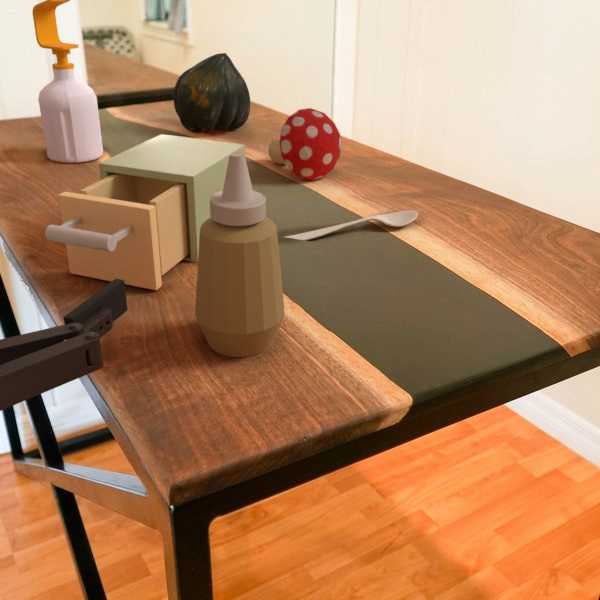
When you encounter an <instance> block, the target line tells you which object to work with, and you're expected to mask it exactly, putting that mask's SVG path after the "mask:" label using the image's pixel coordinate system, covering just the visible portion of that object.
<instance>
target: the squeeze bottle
mask: <svg viewBox="0 0 600 600" xmlns="http://www.w3.org/2000/svg"><path fill="white" fill-rule="evenodd" d="M245 158H246V154H245V155H244V153H239V152H235V153H231V154H230V156H229V161H228V167H227V172H226V177H225V183H224V188H223V191H220V192H217V193H215V194H214V195H212V196H211V198H210V218H209V219H208V220H206V221H205V222H204V223H203V224H202V225H201V228H200V237H199V255H198V262H197V276H196V293H195V310H194V315H195V317H196V320H197V322H198V324H199V326H200V329H201V331H202V333H203V335H204V338H205V340H206V342H207V344H208V345H209V347H210V349H211V350H213V351H214V352H217V353H218V354H220V355H222V356H227V357H231V358H233V357H234V358H248V357H252V356H257V355H260V354H262V353H264V352H266V351H268V350H269V349H270V348H271V346H273V344H274V343H275V341H276V339H277V336H278V333H279V330H280V328H281V326H282V323H283V320H284V318H285V302H284V301H285V299H284V290H283V279H282V268H281V259H280V249H279V238H278V237H279V236H278V228H277V224H275V223H274V222H273V221H272V220H271V219H270V218H269V217H267V197H266V196H265V195H264V194H263V193H261V192H259V191H256V190H253V185H252V181H251V177H250V172H249V168H248V164H247V159H245Z"/></svg>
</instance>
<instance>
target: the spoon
mask: <svg viewBox="0 0 600 600" xmlns="http://www.w3.org/2000/svg"><path fill="white" fill-rule="evenodd" d="M418 216H419V213H418V211H417V210H412V209H410V210H409V209H405V210H400V211H395V212H389V213H386V214H385V213H384V214H378V215H369V216H366V217H363V218H359V219H357V220H352V221H348V222H343V223H340V224H337V225H336V224H335V225H332V226H327V227H323V228H318V229H315V230H311V231H306V232H301V233H296V234H292V235H287V236H286V235H285V238H289V239H294V240H299V241H305V242H306V241H310V240H314V239H317V238H320V237H324V236H326V235H330V234H333V233H335V232H337V231H340V230H342V229H346V228H348V227H351V226H355V225H360V224H362V223H365V222H369V221H377V222H379V223H382V224H383V225H386V226H390V227H403V226H407V225H408V224H410V223H412V222H413V221H415V220H416V219H417V218H418Z"/></svg>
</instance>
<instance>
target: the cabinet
mask: <svg viewBox="0 0 600 600" xmlns="http://www.w3.org/2000/svg"><path fill="white" fill-rule="evenodd" d="M235 152H239V153H244V155H245V156H246V144H245V143H244V144H242V143H236V142H228V141H219V140H212V139H204V138H196V137H187V136H180V135H179V136H178V135H171V134H164V133H161V134H158V135H156V136H155V137H152V138H150V139H147V140H145V141H144V142H141V143H139V144H136V145H135V146H133V147H130V148H128V149H126V150H124V151H122V152H120V153H118V154H115V155H114V156H111V157H109V158H107V159H105V160H102V161H100V162H98V169H99V180H102V179H104V178H106V177H108V176H110V175H112V174H114V173H119V174H125V175H132V176H139V177H146V178H153V179H160V180H166V181H173V182H180V183H187V199H188V216H189V232H190V249H191V252H190V253H189V254H188V255H187V256H186V257H184V258H183V259H182V260H183V261H187V262H193V263H198V255H199V237H200V228H201V225H202V224H203V223H204V222H205V221H206V220H208V219H209V218H210V198H211V196H212V195H214V194H215V193H217V192H220V191H223V188H224V183H225V177H226V172H227V167H228V161H229V156H230V154H231V153H235ZM246 158H247V157H245V159H246ZM246 160H247V159H246ZM182 260H181V261H182Z"/></svg>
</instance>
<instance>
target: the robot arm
mask: <svg viewBox="0 0 600 600" xmlns="http://www.w3.org/2000/svg"><path fill="white" fill-rule="evenodd" d="M126 293H127V292H126V284H125V283H124V280H121V279H115V280H113V281H110V282H109V283H107V284H106V285H105V286H103V287H102V288H101V289H100V290H97V292H96V293H94V294H93V295H91V296H90V297H89V298H87V299H86V300H84V301H83V302H82V303H81V304H79V305H77V306H76V307H75V308H73V309H72V310H71V311H70V312H68V313H66V314H65V315H64V316H63V322H64V323H63V324H62V325H57V326H52V327H48V328H44V329H39V330H36V331H32V332H31V331H30V332H27V333H23V334H19V335H14V336H10V337H9V336H8V337H5V338H1V339H0V412H2V411H4V410H6V409H7V408H11V407H13V406H16V405H19V404H20V403H23V402H25V401H27V400H30V399H32V398H35V397H37V396H39V395H42V394H44V393H47V392H49V391H51V390H54V389H56V388H59V387H61V386H64V385H66V384H68V383H70V382H73V381H75V380H79V379H80V378H82V377H85V376H87V375H89V374H93V373H94V372H97V371H99V370H101V369H102V368H103V367H104V359H103V353H102V346H101V345H102V344H101V339H102V338H103V337H104V336H105V335H106V334H107V333H109V332H110V331H111V330H112V328H113V326H114V324H113V323H114V322H115V321H116V320H117V319H120V317H121V316H122V315H124V314H125V313H126V312H127V311H128V301H127V294H126Z"/></svg>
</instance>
